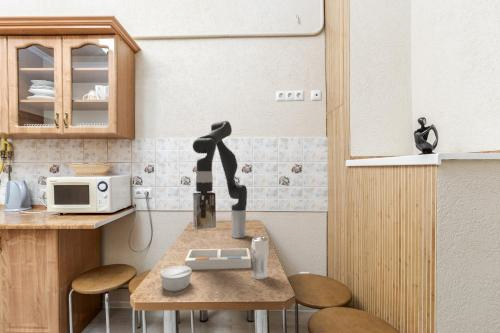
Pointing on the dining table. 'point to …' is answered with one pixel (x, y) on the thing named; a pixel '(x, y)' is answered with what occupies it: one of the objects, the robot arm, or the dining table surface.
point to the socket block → (218, 259)
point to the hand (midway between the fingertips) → (204, 216)
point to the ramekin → (176, 277)
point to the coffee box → (210, 211)
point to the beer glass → (260, 257)
